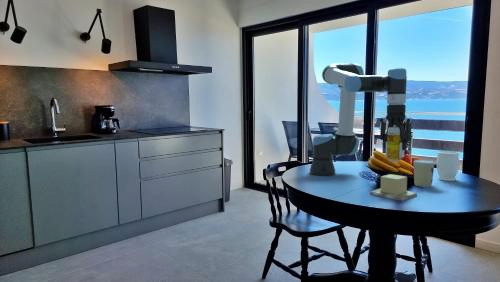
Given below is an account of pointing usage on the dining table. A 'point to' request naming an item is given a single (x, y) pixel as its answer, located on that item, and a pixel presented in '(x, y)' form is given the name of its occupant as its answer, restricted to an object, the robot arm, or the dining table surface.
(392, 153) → the glass of beer
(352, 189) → the dining table surface
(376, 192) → the blueprint board
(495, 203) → the dining table surface
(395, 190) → the cream yellow block
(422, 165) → the coffee cup
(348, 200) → the dining table surface
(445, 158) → the jar
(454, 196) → the dining table surface
